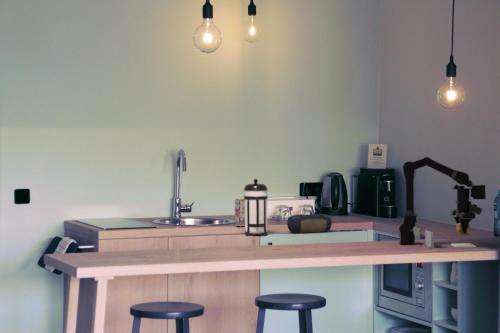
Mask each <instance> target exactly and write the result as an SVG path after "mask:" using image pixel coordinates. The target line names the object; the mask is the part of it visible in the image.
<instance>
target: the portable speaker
mask: <svg viewBox="0 0 500 333" xmlns="http://www.w3.org/2000/svg"><path fill="white" fill-rule="evenodd" d="M286 225H287V228H288V231H289V232H290V233H292V234H312V233H313V234H315V233H327V232H329V231H330V230H331V228H332V225H333V222H332V217H331V215H329V214H327V213H326V214H325V213H316V214H314V213H313V214H295V215H291V216H289V217H288V218H287V221H286Z"/></svg>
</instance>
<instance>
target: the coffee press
mask: <svg viewBox="0 0 500 333" xmlns="http://www.w3.org/2000/svg"><path fill="white" fill-rule="evenodd" d="M243 191H244V195H243V199H245V227H244V234H245V236H246V237H250V236H251V235H252V234H259V235H260V234H262V235H263V236H264V237H267V236H268V235H269V234H268V232H267V231H268V191H269V190H268V187H267V185H266V184H264V183H258V179H257V178H254V179H253V183H248V184H246V185H245V186H244V188H243Z"/></svg>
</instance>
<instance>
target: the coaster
mask: <svg viewBox="0 0 500 333" xmlns="http://www.w3.org/2000/svg"><path fill="white" fill-rule="evenodd" d="M450 246H452V247H454V248H457V249H458V248H459V249H460V248H465V249H466V248H469V249H470V248H477V246H476V245H474V244H472V243H470V242H469V243H464V242H463V243H450Z"/></svg>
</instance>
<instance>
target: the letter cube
mask: <svg viewBox="0 0 500 333" xmlns="http://www.w3.org/2000/svg"><path fill="white" fill-rule="evenodd" d="M455 224H456V227H455V229H456V231H455V232H456V235H458V236H471V224H470V223H469V224H468V228H467V231H466V233H463V230H462V227H461V224H460V223H456V222H455Z"/></svg>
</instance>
